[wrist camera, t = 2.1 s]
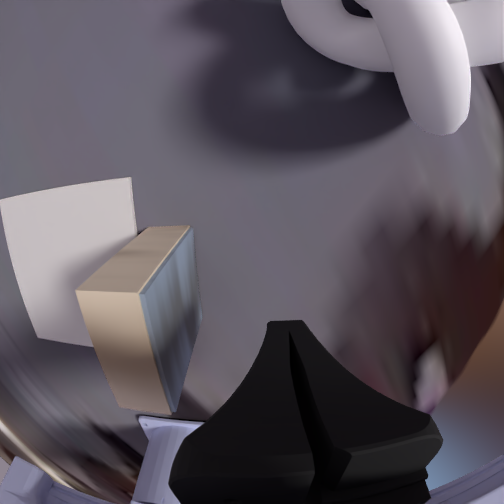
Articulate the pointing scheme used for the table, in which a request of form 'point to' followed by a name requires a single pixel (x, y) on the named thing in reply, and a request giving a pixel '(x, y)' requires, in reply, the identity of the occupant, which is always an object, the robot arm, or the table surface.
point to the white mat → (65, 248)
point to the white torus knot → (410, 47)
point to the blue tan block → (145, 317)
